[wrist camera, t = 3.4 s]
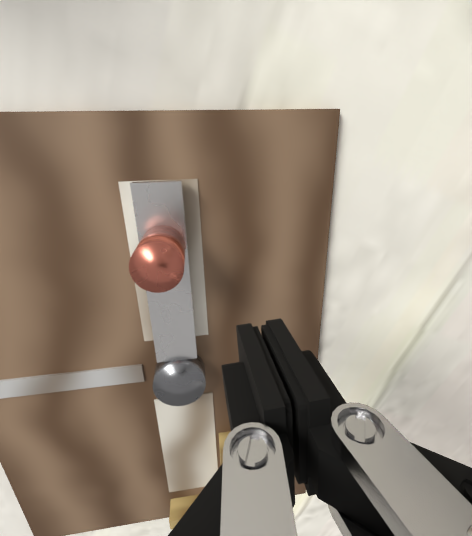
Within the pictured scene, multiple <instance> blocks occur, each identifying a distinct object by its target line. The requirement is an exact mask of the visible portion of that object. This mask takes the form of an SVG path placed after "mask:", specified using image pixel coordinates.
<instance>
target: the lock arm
mask: <svg viewBox="0 0 472 536" xmlns="http://www.w3.org/2000/svg"><path fill="white" fill-rule="evenodd" d="M130 187H131V194H132V200H133V207H134V214H135V220H136V227H137V234H138V240H139V244H138V246H137V247H136V249H135V251H134V252H133V254H132V256H131V258H130V261H129V272H130V275H131V278H132V279H133V281H134V282H135V283H136V284H137V285H138V286H139V287H140V288H142V289H144V290H146V293H147V300H148V307H149V313H150V320H151V326H152V333H153V340H154V346H155V353H156V360H157V364H156V368H155V374H154V380H153V392H154V394H155V396H156V397H157V398H158V399H159V400H160V401H161V402H163V403H165V404H167V405H171V406H184V405H188V404H191V403H193V402H195V401H196V400H198V399H199V398H200V397H201V396H202V394H203V392H204V390H205V387H206V380H205V366H204V362H203V360H202V359H201V358H200V357H199V356H198V355H197V345H196V334H195V323H194V312H193V300H192V289H191V278H190V267H189V256H188V244H187V233H186V222H185V211H184V199H183V188H182V180H169V181H142V182H132V183H130Z"/></svg>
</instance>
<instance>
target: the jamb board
mask: <svg viewBox="0 0 472 536" xmlns="http://www.w3.org/2000/svg"><path fill="white" fill-rule="evenodd" d="M339 116H340V109H285V110H171V111H57V112H0V462H1V464H2V467H3V469H4V471H5V473H6V475H7V478H8V480H9V482H10V484H11V486H12V489H13V491H14V493H15V495H16V497H17V500H18V502H19V504H20V506H21V508H22V511H23V513H24V515H25V517H26V519H27V522H28V524H29V526H30V528H31V530H32V533H33V535H34V536H65V535H70V534H76V533H82V532H87V531H93V530H99V529H104V528H110V527H116V526H121V525H127V524H133V523H138V522H144V521H150V520H155V519H161V518H167V517H169V523H170V529H173V528H174V527H175V526H176V524H177V523H178V522H179V520H180V519H181V518H182V516H183V515H184V514H185V512H186V511H187V510H188V508H189V507H190V506H191V504H192V503H193V502H194V500H195V499H196V498H197V496H198V495H199V494H200V492H201V491H202V490H203V488H204V487H205V486H206V485H207V483H208V482H209V481H210V479H211V478H212V477H213V475H214V474H215V473H216V471H217V470H218V469H219V467H220V466H221V465H222V463H223V447H224V442H225V439H226V438H227V436H228V434H229V433H230V432H231V429H230V423H229V417H228V411H227V405H226V398H225V391H224V384H223V375H222V366H221V365H224V364H230V363H236V362H239V354H238V343H237V332H236V325H241V324H247V323H251V324H252V326H253V327H254V326H258V328H259V331H260V333H261V325H266V321H267V320H273V319H279V318H281V319H282V320H283V322H284V324H285V325H286V327H287V328H288V330H289V332H290V333H291V335H292V337H293V338H294V340H295V341H296V343H297V345H298V346H299V348H300V350H301V351H306V350H310V351H311V352H312V353H313V354H314V355H315V357H316V358H317V359H318V348H319V337H320V326H321V315H322V304H323V293H324V282H325V270H326V259H327V248H328V237H329V226H330V215H331V204H332V193H333V182H334V171H335V160H336V149H337V138H338V127H339ZM169 180H182V188H183V199H184V211H185V222H186V233H187V244H188V256H189V267H190V278H191V289H192V300H193V312H194V323H195V334H196V345H197V355H198V356H199V357H200V358H201V359H202V360H203V362H204V366H205V380H206V387H205V390H204V392H203V394H202V396H201V397H200V398H199V399H198V400H196V401H195V402H193V403H191V404H188V405H184V406H171V405H167V404H165V403H163V402H161V401H160V400H159V399H158V398H157V397H156V396H155V394H154V392H153V380H154V374H155V368H156V364H157V360H156V353H155V346H154V340H153V333H152V326H151V320H150V313H149V307H148V300H147V293H146V290H144V289H142V288H140V287H139V286H138V285H137V284H136V283H135V282H134V281H133V279H132V278H131V275H130V272H129V261H130V258H131V256H132V254H133V252H134V251H135V249H136V247H137V246H138V244H139V240H138V234H137V227H136V220H135V214H134V207H133V200H132V194H131V187H130V183H132V182H142V181H169ZM305 492H306V487H305V485H304V483H302V484H298V482H297V480H296V478H295V495H297V494H303V493H305Z"/></svg>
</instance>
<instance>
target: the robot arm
mask: <svg viewBox="0 0 472 536" xmlns="http://www.w3.org/2000/svg"><path fill="white" fill-rule="evenodd" d="M236 332H237V343H238V354H239V362H236V363H230V364H224V365H221V366H222V375H223V384H224V391H225V398H226V405H227V411H228V417H229V423H230V429H231V432H230V433H229V434H228V436H227V438H226V439H225V442H224V447H223V463H222V465H221V466H220V467H219V469H218V470H217V471H216V473H215V474H214V475H213V477H212V478H211V479H210V481H209V482H208V483H207V485H206V486H205V487H204V488H203V490H202V491H201V492H200V494H199V495H198V496H197V498H196V499H195V500H194V502H193V503H192V504H191V506H190V507H189V508H188V510H187V511H186V512H185V514H184V515H183V516H182V518H181V519H180V520H179V522H178V523H177V524H176V526H175V527H174V528H173V530H172V531H171V532H170V534H169V535H168V536H297V531H296V525H295V519H294V513H293V507H294V505H295V478H296V480H297V482H298V484H302V483H304V485H305V487H306V490H307V493H308V496H311V495H315V494H316V495H317V497H318V498H319V499H320V500H322V501H324V502H325V503H327V504H328V507H329V510H330V513H331V515H332V517H333V519H334V521H335V523H336V524H337V526H338V528H339V530H340V532H341V533H342V535H343V536H472V468H470V467H468V466H466V465H463V464H461V463H458V462H456V461H454V460H451V459H449V458H447V457H444V456H442V455H439V454H437V453H435V452H432V451H430V450H428V449H425V448H423V447H420V446H418V445H416V444H413V443H411V442H409V441H408V440H407V439H406V438H405V437H404V436H403V435H402V434H401V433H400V432H399V431H398V430H397V429H396V428H395V427H394V426H393V425H392V424H391V423H390V422H389V421H388V420H387V419H386V418H385V417H384V416H383V415H382V414H381V413H379V412H378V411H377V410H375V409H373V408H371V407H369V406H367V405H364V404H360V403H346V402H345V400H344V399H343V397H342V396H341V394H340V393H339V391H338V390H337V388H336V387H335V385H334V384H333V382H332V381H331V379H330V378H329V376H328V375H327V373H326V372H325V370H324V369H323V367H322V366H321V364H320V363H319V361H318V360H317V358H316V357H315V355H314V354H313V353H312V352H311V351H310V350H306V351H301V350H300V348H299V346H298V345H297V343H296V341H295V340H294V338H293V337H292V335H291V333H290V332H289V330H288V328H287V327H286V325H285V324H284V322H283V320H282V319H281V318H279V319H273V320H267V321H266V325H261V333H260V331H259V328H258V326H254V327H253V326H252V324H251V323H247V324H241V325H236Z"/></svg>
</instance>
